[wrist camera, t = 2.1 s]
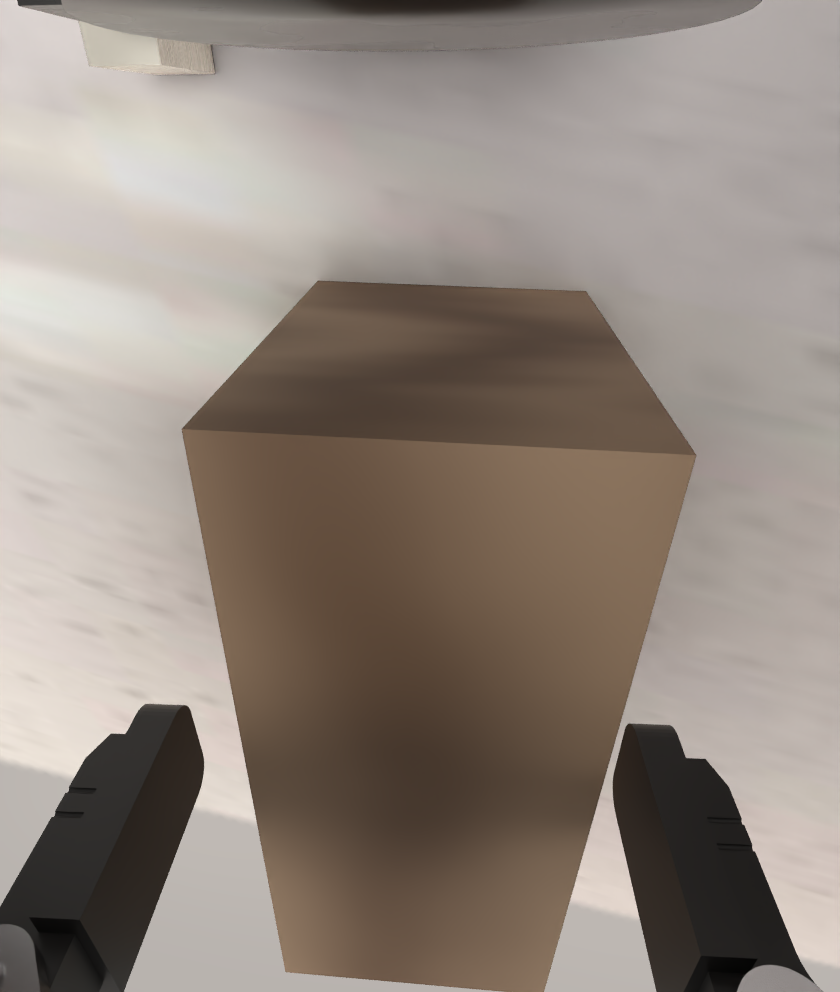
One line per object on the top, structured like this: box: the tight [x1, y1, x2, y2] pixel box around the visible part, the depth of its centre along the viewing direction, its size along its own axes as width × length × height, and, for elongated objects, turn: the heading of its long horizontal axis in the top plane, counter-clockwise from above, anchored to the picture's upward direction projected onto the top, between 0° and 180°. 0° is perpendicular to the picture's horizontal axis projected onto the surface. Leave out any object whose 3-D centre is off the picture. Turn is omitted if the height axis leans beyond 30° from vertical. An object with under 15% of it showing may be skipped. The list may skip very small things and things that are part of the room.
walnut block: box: [182, 281, 696, 992], centre depth 14 cm, size 6×14×8 cm, turn 179°
